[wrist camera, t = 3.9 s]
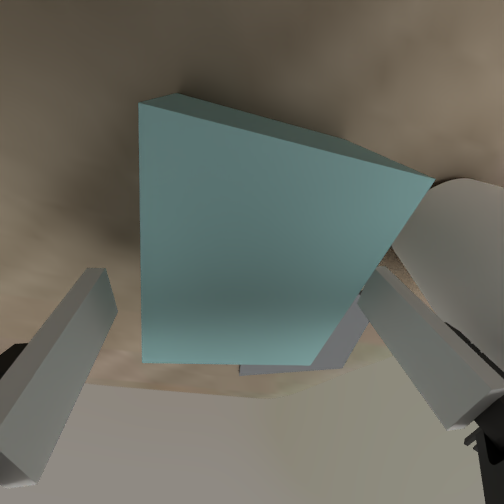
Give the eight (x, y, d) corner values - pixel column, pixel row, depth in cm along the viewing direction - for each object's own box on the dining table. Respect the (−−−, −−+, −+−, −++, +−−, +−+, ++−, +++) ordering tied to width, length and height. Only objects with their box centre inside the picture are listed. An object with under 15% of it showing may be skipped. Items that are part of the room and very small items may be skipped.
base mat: (238, 372, 26) (239, 375, 26) (249, 293, 19) (249, 296, 19) (340, 365, 28) (342, 368, 28) (382, 290, 21) (385, 294, 21)
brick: (166, 270, 17) (142, 362, 12) (177, 92, 11) (138, 102, 6) (282, 282, 19) (310, 365, 14) (342, 138, 13) (435, 179, 8)
